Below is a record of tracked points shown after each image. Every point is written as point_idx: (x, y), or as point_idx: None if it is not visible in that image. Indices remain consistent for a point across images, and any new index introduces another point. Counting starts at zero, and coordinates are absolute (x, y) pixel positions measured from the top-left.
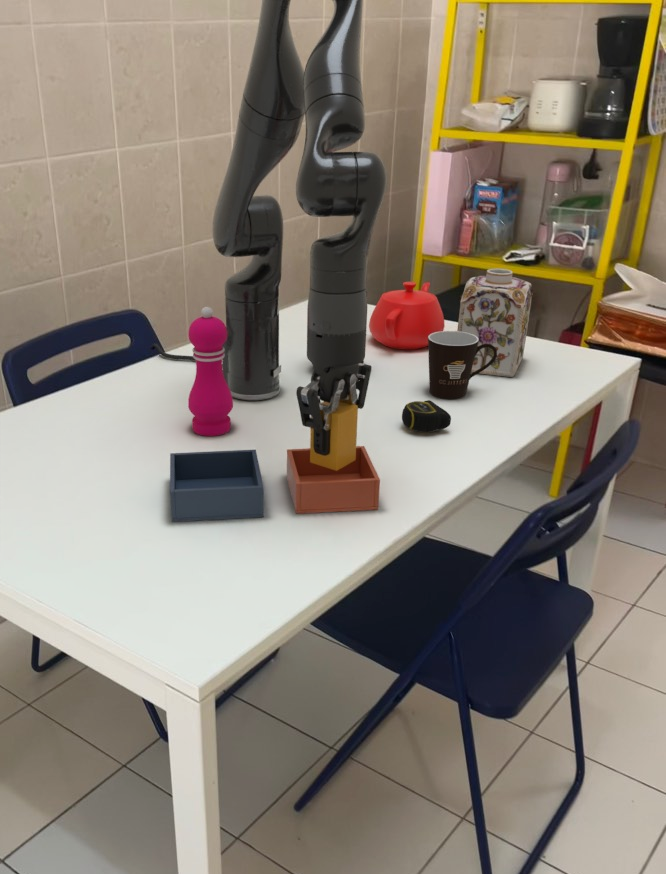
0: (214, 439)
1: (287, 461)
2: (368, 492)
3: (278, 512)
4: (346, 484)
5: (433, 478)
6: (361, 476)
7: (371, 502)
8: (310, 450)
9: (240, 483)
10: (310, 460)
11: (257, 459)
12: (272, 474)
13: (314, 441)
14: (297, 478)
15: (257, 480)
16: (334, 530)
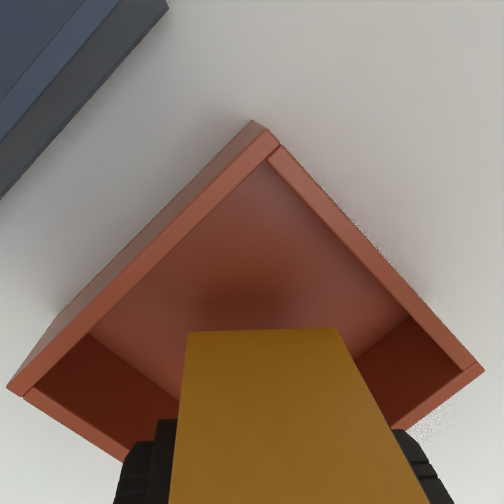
0: None
1: (239, 145)
2: None
3: (19, 269)
4: None
5: (491, 453)
6: (386, 337)
7: None
8: (184, 368)
9: (49, 4)
10: (187, 338)
11: (51, 78)
12: (241, 47)
13: (118, 496)
14: (45, 363)
15: None
16: (67, 442)
